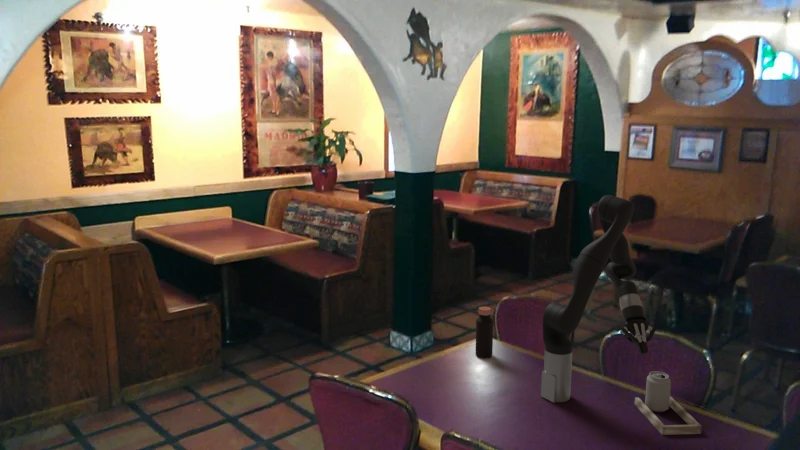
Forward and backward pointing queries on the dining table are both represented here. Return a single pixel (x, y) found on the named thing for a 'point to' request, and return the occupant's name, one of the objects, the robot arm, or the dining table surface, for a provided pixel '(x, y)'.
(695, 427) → the wooden frame
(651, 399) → the can
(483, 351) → the bottle
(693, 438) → the dining table surface
